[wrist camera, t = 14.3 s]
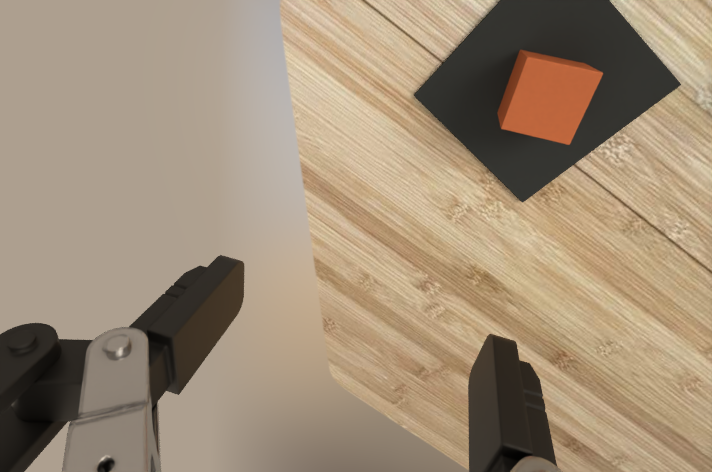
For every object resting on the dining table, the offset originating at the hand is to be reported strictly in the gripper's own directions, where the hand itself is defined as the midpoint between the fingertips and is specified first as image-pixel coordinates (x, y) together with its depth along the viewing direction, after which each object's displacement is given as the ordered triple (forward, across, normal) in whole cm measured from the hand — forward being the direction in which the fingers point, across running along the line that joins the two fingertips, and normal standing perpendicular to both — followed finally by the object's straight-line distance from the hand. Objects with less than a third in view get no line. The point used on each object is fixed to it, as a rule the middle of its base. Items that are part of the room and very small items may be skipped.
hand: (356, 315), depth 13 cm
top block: (+27, -8, -4) cm, 28 cm away
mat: (+27, -8, -4) cm, 28 cm away
